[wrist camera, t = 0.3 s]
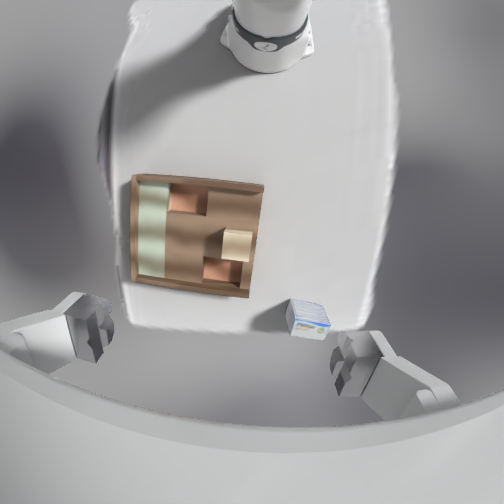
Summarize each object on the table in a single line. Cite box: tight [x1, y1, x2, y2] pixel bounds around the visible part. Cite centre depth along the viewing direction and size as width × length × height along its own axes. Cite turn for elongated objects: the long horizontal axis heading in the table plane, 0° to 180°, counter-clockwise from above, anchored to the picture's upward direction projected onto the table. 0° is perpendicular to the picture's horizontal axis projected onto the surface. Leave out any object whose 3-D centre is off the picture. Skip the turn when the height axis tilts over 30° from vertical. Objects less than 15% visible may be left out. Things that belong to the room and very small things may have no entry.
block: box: [221, 227, 252, 262], centre depth 51 cm, size 5×5×4 cm
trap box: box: [130, 174, 264, 298], centre depth 53 cm, size 22×25×5 cm
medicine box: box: [285, 299, 331, 341], centre depth 57 cm, size 8×4×9 cm, turn 77°
